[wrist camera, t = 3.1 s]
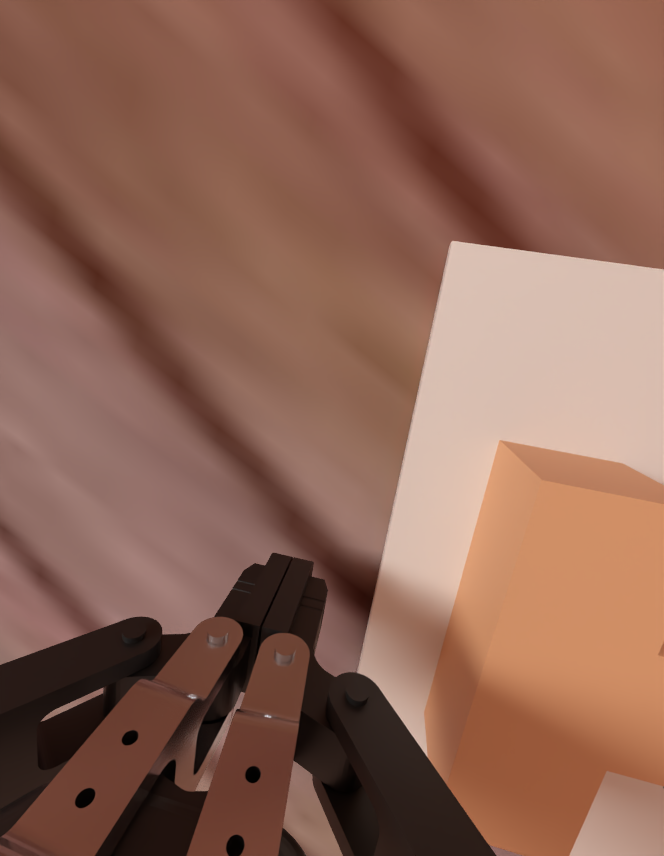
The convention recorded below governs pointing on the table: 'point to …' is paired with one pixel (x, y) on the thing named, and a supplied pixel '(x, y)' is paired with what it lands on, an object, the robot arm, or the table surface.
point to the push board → (524, 424)
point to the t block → (552, 648)
